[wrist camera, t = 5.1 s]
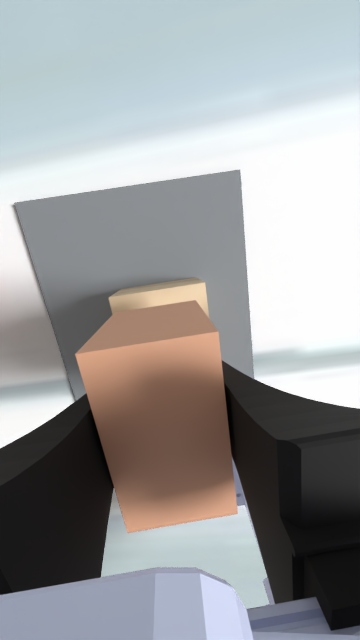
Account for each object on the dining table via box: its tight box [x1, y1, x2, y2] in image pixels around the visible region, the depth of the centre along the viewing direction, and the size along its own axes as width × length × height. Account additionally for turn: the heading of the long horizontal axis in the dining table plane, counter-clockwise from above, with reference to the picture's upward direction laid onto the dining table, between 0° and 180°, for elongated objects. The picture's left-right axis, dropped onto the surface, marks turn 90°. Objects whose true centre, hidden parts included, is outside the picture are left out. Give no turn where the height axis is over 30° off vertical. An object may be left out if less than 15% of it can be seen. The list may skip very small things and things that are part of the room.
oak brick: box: [109, 277, 209, 318], centre depth 17 cm, size 8×6×4 cm
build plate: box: [14, 170, 254, 401], centre depth 19 cm, size 20×16×1 cm
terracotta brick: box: [75, 300, 238, 533], centre depth 10 cm, size 7×4×5 cm, turn 9°
